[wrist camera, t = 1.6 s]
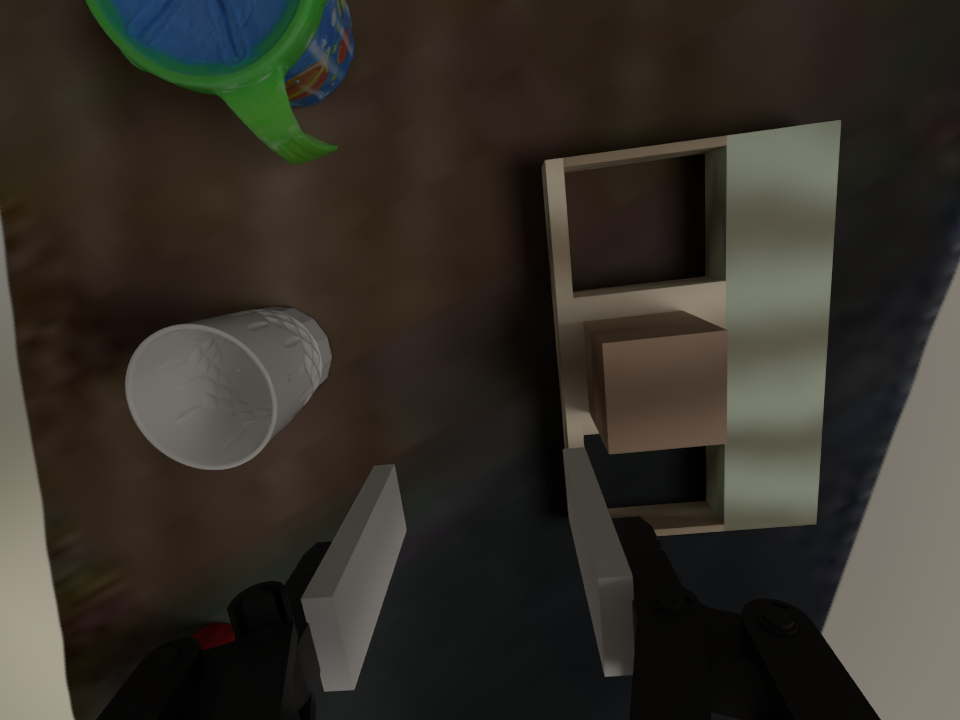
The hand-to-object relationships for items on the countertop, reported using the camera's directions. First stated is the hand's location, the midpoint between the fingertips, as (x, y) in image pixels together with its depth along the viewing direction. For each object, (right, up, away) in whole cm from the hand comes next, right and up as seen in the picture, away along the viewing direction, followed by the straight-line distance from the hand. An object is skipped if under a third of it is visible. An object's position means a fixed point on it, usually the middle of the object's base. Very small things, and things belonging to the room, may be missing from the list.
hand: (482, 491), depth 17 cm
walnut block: (+10, +4, +13) cm, 17 cm away
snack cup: (-11, +24, +12) cm, 29 cm away
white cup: (-14, +5, +17) cm, 23 cm away
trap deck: (+13, +6, +15) cm, 21 cm away
